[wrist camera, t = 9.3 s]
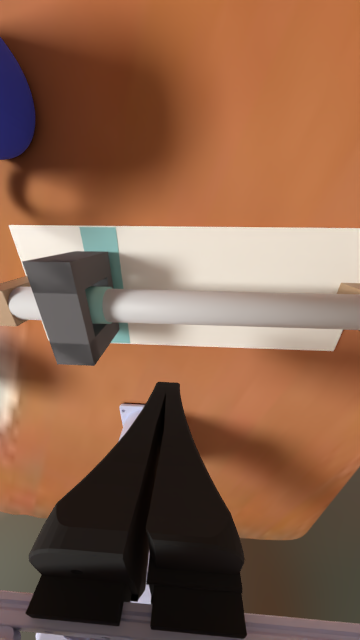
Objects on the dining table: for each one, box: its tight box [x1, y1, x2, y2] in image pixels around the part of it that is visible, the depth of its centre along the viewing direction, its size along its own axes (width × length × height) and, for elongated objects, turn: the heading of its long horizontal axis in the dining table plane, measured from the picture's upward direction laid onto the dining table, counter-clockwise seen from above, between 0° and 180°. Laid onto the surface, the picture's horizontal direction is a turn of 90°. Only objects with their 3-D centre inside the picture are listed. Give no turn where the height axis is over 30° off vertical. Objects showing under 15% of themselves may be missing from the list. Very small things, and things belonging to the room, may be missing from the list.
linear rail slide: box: [0, 225, 360, 351], centre depth 17 cm, size 12×32×5 cm, turn 90°
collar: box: [22, 251, 120, 366], centre depth 16 cm, size 8×3×6 cm, turn 0°
